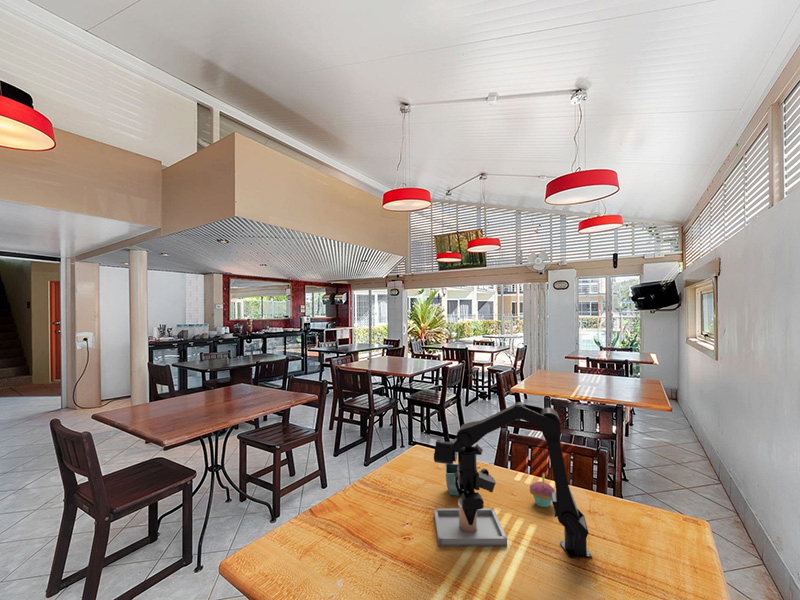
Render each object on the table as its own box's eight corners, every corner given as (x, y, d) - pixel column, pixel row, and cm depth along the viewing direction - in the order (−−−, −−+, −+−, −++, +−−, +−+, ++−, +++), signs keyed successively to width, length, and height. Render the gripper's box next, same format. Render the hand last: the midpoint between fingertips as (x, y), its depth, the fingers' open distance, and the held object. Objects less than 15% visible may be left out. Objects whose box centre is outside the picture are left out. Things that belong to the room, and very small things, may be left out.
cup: (479, 533, 112) (479, 507, 112) (460, 533, 112) (459, 507, 112) (475, 521, 118) (475, 496, 118) (457, 522, 118) (456, 497, 118)
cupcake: (559, 510, 125) (558, 475, 125) (534, 510, 125) (533, 475, 125) (549, 497, 134) (549, 464, 134) (526, 497, 134) (525, 464, 134)
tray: (507, 546, 107) (507, 538, 107) (438, 546, 107) (438, 538, 107) (493, 515, 123) (493, 508, 123) (434, 515, 123) (434, 508, 123)
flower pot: (468, 487, 142) (467, 464, 142) (470, 499, 133) (469, 474, 133) (445, 486, 142) (445, 463, 143) (445, 498, 134) (445, 473, 134)
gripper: (500, 479, 106) (501, 534, 105) (486, 454, 124) (486, 500, 124) (462, 480, 106) (463, 534, 105) (453, 454, 124) (454, 500, 124)
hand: (468, 516), depth 115 cm, fingers open, 9 cm apart
